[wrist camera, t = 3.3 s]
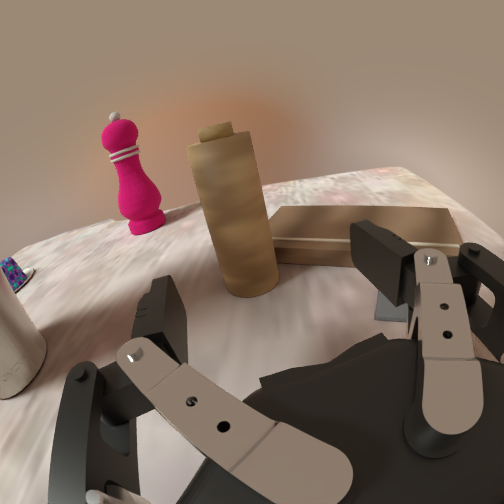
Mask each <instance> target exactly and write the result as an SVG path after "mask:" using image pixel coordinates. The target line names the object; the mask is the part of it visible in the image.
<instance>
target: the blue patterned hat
mask: <svg viewBox="0 0 504 504" xmlns="http://www.w3.org/2000/svg"><path fill="white" fill-rule="evenodd" d="M0 266H1V268H2V270H3V272H4V274H5V276H6V278H7V280H8V282H9V284H10V285H11V287H12V289H13V291H14V292H16V291H17V290H18V289H19V288H20V287H21V286H23V285H24V284H25V283H26V281H27V280H28V279H29V278H30V277H31V275H32V274H33V271H34V269H33V268H27V269H24V270H21V268H20V267H19V266H18V265H17V263H16V262H15V261H14V260H13V259H12V258H11V257H9V258H7V259H4V260H3V261H1V262H0ZM26 275H28V278H27V276H26ZM26 279H27V280H26ZM25 280H26V281H25ZM24 281H25V282H24ZM23 283H24V284H23ZM22 284H23V285H22ZM16 289H17V290H16ZM15 290H16V291H15Z"/></svg>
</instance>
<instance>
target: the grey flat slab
mask: <svg viewBox="0 0 504 504" xmlns="http://www.w3.org/2000/svg"><path fill="white" fill-rule="evenodd" d="M407 306H408V304H407V303H405V304H403V305H401V306H398V307H395V306H394V305H393V304H392V303H391V302H390V301H389V300H388V299H387V298H386V297H385V296H384V295H383V294H382V293H381V292H380V291H379V292H378V299H377V306H376V312H375V320H387V321H401V322H406V318H407Z"/></svg>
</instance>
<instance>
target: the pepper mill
mask: <svg viewBox="0 0 504 504" xmlns="http://www.w3.org/2000/svg"><path fill="white" fill-rule="evenodd" d="M109 118H110V121H111V122H112V123H111V124H109V125H108V126H107V127H106V128H105V129H104V131H103V133H102V144H103V147H104V148H105V149H107V150H108V151H109V152H110V153H111V155H110V156H109V157H110V158H111V163H114V164H115V167H116V169H117V173H118V176H119V195H118V203H119V209H120V212H121V214H122V215H123V216H124V217H126V218H127V219H129V220H130V222H129V224H128V226H129V228H130V231H131V233H132V234H133V235H141V234H144V233H147V232H150V231H153V230H155V229H157V228H158V227H160V226H161V225H163V224H164V223H165V220H166V219H165V216H164V213H163V211H162V210H159V209H158V208H159V205H160V203H161V195H160V192H159V190H158V189H157V187H156V186H155V184H154V183H153V182H152V181H151V180H150V179H149V178H148V177H147V175H146V174H145V173H144V171H143V169H142V167H141V164H140V160H139V155H138V153H139V152H140V150H139V148H138V147H139V145H136V140H137V137H138V129H137V127H136V125H135V124H134V123H133V122H132V121H130V120H126V119H121V120H119V119H120V114H119V113H118V112H113V113H111V115H110V117H109Z"/></svg>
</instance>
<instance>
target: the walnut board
mask: <svg viewBox="0 0 504 504" xmlns="http://www.w3.org/2000/svg"><path fill="white" fill-rule="evenodd" d="M365 219H367V220H369V221H370V222H372V223H374V224H375V225H377V226H379V227H382V228H385V229H389V230H390V231H392V232H393V233H395V234H396V235H398V236H399V237H401V238H402V239H404V240H405V241H407V242H408V243H410V244H411V245H413V246H414V247H416V248H417V249H419V250H420V249H425V248H431V249H436V250H439V251H441V252H442V253H444V254H445V255H446V257H453V256H458V254H459V248H460V246H461V245H462V244H463V243H462V240H461V238H460V235H459V233H458V231H457V228H456V226H455V224H454V221H453V219H452V217H451V215H450V213H449V210H448V209H446V208H426V207H399V206H281V207H280V208H279V209H278V210H277V212H276V213H275V214H274V215H273V216H272V217H271V218H270V219H269V220H268V221H269V226H270V231H271V235H272V240H273V245H274V251H275V256H276V261H277V263H292V264H307V265H323V266H340V267H355V266H354V264H353V261H352V258H351V246H350V225H351V223H354V222H358V221H361V220H365Z"/></svg>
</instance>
